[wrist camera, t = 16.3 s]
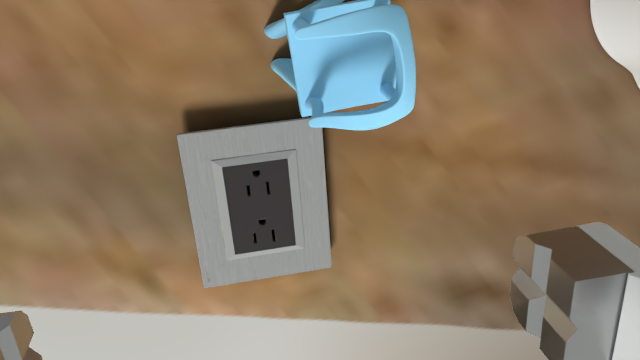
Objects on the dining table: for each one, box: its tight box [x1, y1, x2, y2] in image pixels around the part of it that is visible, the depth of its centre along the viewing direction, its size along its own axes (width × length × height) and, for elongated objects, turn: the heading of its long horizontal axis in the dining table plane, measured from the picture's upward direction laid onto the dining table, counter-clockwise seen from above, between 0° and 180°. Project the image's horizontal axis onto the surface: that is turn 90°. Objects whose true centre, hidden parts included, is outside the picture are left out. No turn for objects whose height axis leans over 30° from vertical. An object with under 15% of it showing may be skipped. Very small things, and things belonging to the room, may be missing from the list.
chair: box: [264, 0, 416, 130], centre depth 37 cm, size 8×8×12 cm
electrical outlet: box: [177, 117, 332, 288], centre depth 46 cm, size 13×10×2 cm
